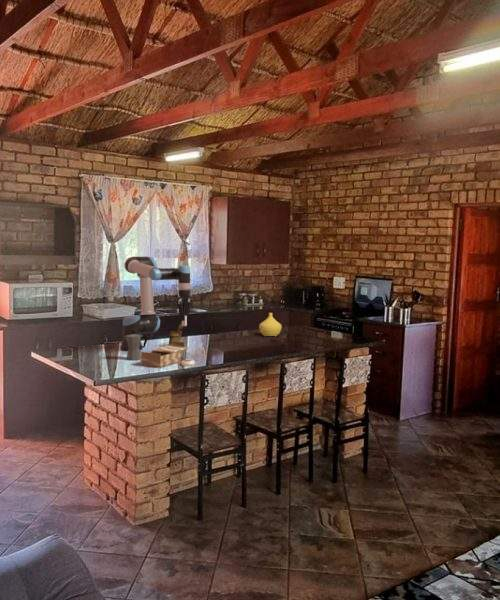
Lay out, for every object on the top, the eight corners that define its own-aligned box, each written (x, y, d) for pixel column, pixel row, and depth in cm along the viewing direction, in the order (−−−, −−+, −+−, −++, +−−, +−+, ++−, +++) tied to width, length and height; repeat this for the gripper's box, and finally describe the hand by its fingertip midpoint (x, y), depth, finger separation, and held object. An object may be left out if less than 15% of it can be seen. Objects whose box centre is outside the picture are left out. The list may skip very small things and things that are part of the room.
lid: (170, 346, 362) (170, 340, 362) (188, 348, 356) (188, 342, 355) (152, 350, 345) (152, 344, 345) (171, 352, 339) (171, 347, 338)
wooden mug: (188, 346, 403) (188, 321, 401) (172, 348, 394) (172, 323, 392) (180, 344, 409) (180, 320, 408) (165, 347, 400) (165, 322, 398)
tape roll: (186, 363, 345) (186, 359, 345) (197, 364, 341) (197, 360, 341) (178, 365, 338) (178, 361, 338) (189, 366, 334) (189, 362, 334)
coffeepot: (121, 360, 350) (121, 332, 348) (125, 357, 359) (125, 329, 358) (146, 360, 350) (146, 332, 348) (149, 357, 359) (149, 330, 358)
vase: (270, 333, 472) (271, 311, 470) (285, 336, 458) (286, 313, 456) (254, 335, 460) (254, 312, 458) (269, 338, 446) (269, 314, 444)
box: (160, 359, 354) (160, 346, 353) (180, 362, 347) (180, 349, 346) (140, 365, 336) (140, 351, 336) (160, 368, 330) (160, 354, 329)
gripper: (185, 288, 367) (185, 324, 369) (173, 289, 356) (173, 326, 358) (194, 289, 364) (194, 324, 366) (183, 290, 352) (183, 327, 354)
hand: (184, 325), depth 362 cm, fingers closed
